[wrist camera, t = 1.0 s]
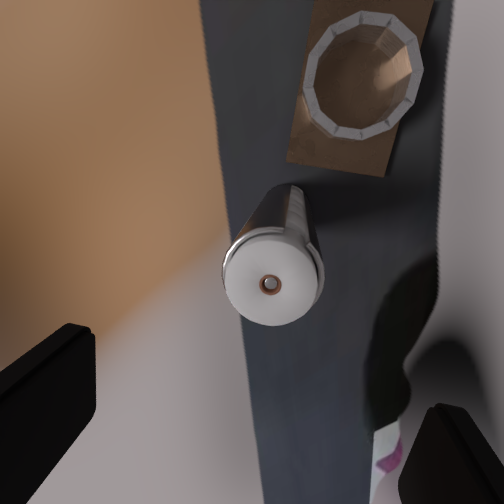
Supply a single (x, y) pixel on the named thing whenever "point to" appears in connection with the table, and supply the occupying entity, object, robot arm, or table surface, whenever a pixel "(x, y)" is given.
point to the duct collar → (357, 82)
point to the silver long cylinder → (275, 260)
